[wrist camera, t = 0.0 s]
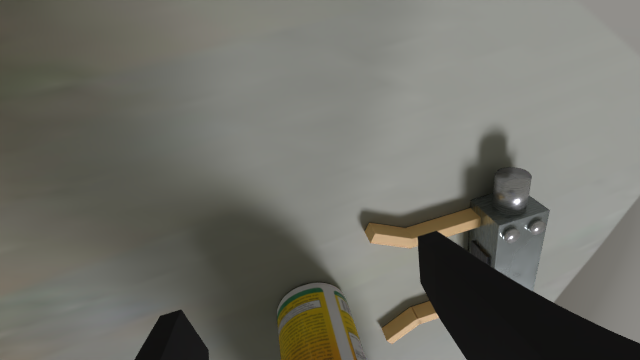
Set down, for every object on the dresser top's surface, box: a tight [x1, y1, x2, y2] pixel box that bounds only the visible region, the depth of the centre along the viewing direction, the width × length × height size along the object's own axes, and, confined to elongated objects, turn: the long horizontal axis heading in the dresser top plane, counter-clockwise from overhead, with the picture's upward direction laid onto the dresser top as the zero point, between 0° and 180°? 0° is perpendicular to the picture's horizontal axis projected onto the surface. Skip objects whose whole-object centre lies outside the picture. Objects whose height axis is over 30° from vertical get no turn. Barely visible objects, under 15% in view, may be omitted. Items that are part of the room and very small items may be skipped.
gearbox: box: [468, 167, 550, 291], centre depth 24 cm, size 13×4×3 cm, turn 12°
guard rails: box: [365, 208, 481, 344], centre depth 25 cm, size 12×8×1 cm, turn 12°
